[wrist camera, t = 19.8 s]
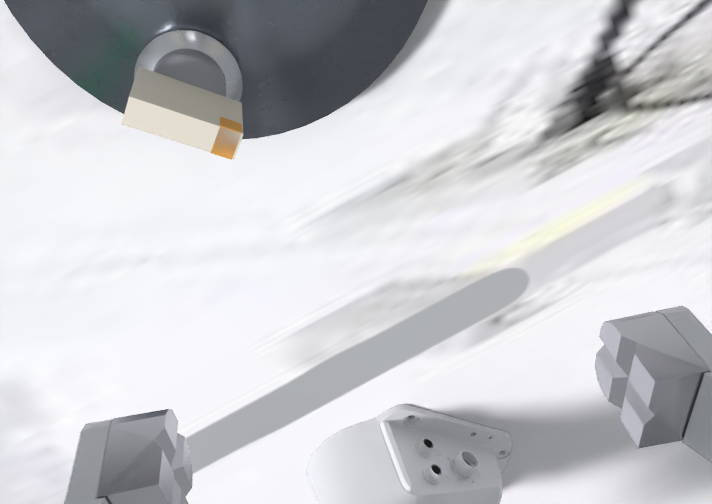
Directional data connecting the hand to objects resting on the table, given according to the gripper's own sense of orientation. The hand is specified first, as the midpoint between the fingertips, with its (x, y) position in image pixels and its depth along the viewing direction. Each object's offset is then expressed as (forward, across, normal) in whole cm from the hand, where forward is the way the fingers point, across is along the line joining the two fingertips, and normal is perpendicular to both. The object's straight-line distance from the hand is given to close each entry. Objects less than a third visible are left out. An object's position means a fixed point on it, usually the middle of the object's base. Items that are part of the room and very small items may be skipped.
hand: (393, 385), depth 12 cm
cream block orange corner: (+30, +6, +5) cm, 32 cm away
